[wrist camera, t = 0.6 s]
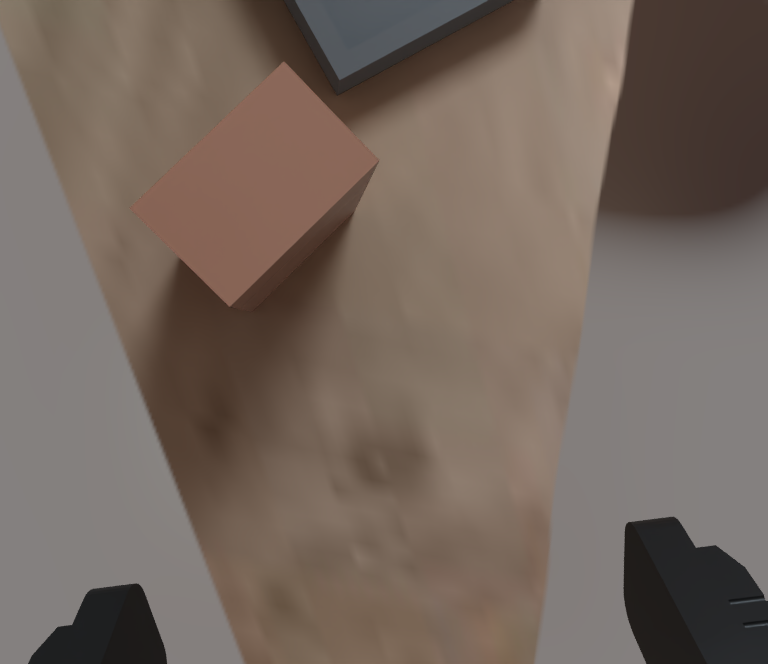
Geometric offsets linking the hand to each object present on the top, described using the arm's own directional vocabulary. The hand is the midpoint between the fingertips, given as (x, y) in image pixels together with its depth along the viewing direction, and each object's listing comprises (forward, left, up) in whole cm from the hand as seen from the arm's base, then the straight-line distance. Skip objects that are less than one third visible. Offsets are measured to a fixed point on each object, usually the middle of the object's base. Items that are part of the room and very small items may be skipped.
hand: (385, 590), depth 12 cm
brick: (-9, +2, -23) cm, 25 cm away
